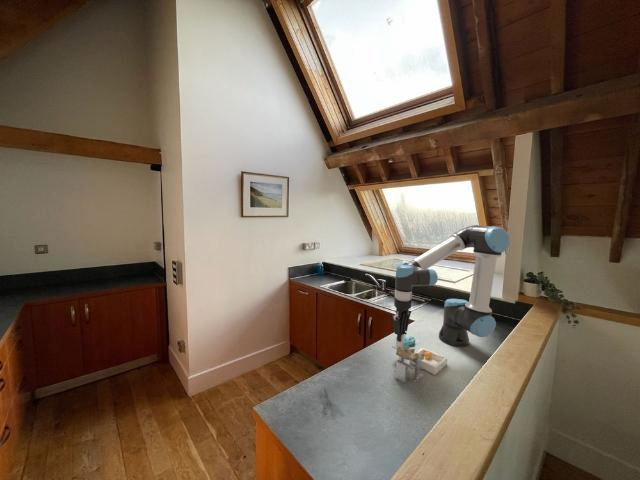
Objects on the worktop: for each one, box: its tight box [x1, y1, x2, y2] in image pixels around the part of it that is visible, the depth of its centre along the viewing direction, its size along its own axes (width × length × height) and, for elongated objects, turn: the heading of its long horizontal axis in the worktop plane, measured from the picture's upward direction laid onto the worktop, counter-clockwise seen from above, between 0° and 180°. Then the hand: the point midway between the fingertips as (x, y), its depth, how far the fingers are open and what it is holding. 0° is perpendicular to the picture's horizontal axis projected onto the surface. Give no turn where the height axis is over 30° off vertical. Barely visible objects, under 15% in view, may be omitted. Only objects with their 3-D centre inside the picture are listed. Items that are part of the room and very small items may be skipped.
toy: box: [395, 334, 416, 349], centre depth 141 cm, size 10×5×15 cm
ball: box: [424, 352, 431, 359], centre depth 127 cm, size 3×3×3 cm
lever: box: [391, 345, 425, 361], centre depth 118 cm, size 15×14×3 cm
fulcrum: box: [394, 356, 424, 384], centre depth 114 cm, size 11×10×8 cm
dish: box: [409, 347, 448, 376], centre depth 123 cm, size 12×12×4 cm
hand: (399, 347), depth 124 cm, fingers closed
